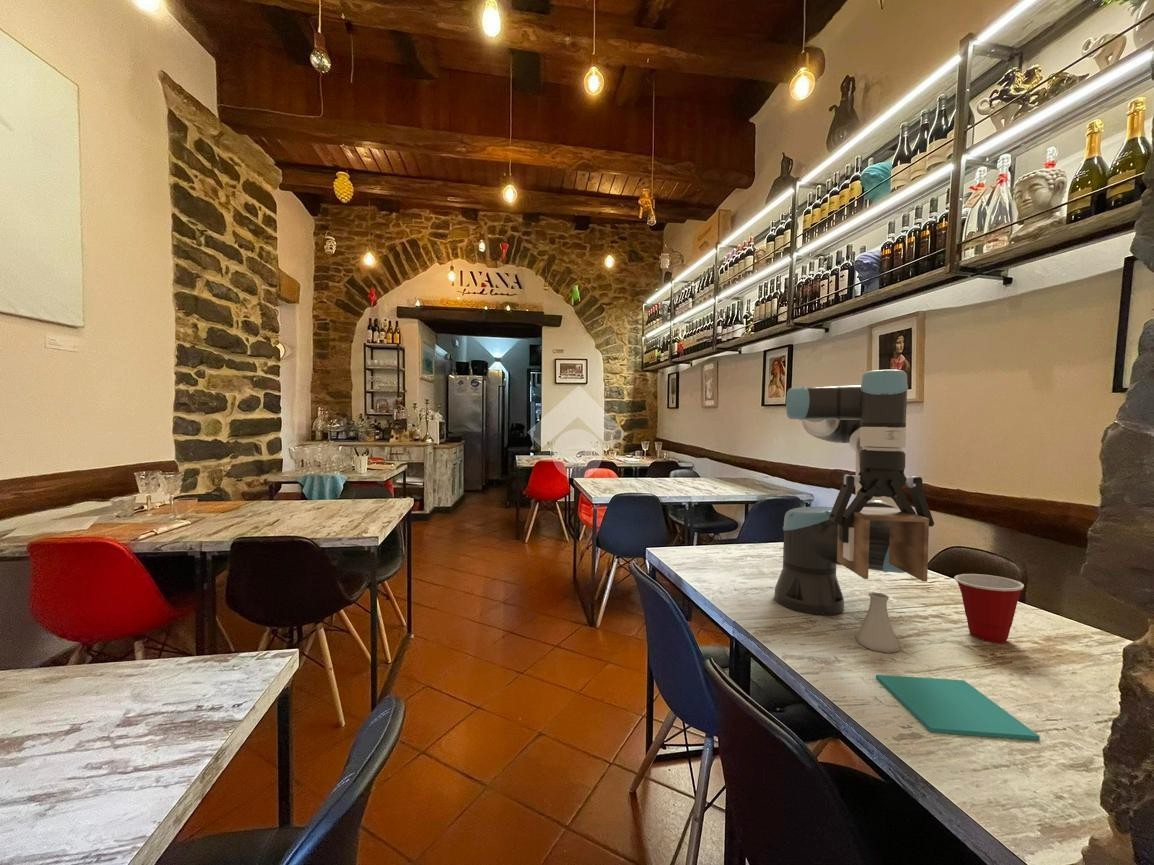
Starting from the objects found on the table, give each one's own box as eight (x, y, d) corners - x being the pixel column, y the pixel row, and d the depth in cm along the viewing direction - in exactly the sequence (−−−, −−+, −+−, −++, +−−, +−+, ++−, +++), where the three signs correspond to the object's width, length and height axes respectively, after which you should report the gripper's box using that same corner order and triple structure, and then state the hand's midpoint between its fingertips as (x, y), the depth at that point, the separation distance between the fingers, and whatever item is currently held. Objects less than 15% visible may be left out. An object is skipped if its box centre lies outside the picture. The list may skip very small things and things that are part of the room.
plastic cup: (952, 620, 103) (954, 567, 103) (1019, 635, 96) (1021, 578, 96) (952, 637, 94) (954, 579, 94) (1025, 654, 88) (1027, 592, 87)
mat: (875, 678, 78) (875, 674, 78) (964, 683, 77) (964, 680, 77) (930, 732, 65) (930, 727, 65) (1039, 740, 63) (1039, 736, 63)
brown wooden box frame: (836, 561, 97) (838, 506, 97) (892, 563, 96) (893, 507, 95) (864, 578, 86) (865, 516, 86) (927, 581, 85) (929, 518, 84)
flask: (908, 654, 87) (910, 602, 87) (869, 653, 87) (871, 601, 87) (884, 637, 94) (885, 588, 94) (848, 636, 94) (849, 587, 94)
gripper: (828, 449, 88) (825, 563, 88) (960, 451, 85) (957, 568, 86) (812, 447, 95) (809, 552, 96) (933, 449, 93) (930, 557, 93)
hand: (879, 560), depth 91 cm, fingers closed on brown wooden box frame, 11 cm apart
